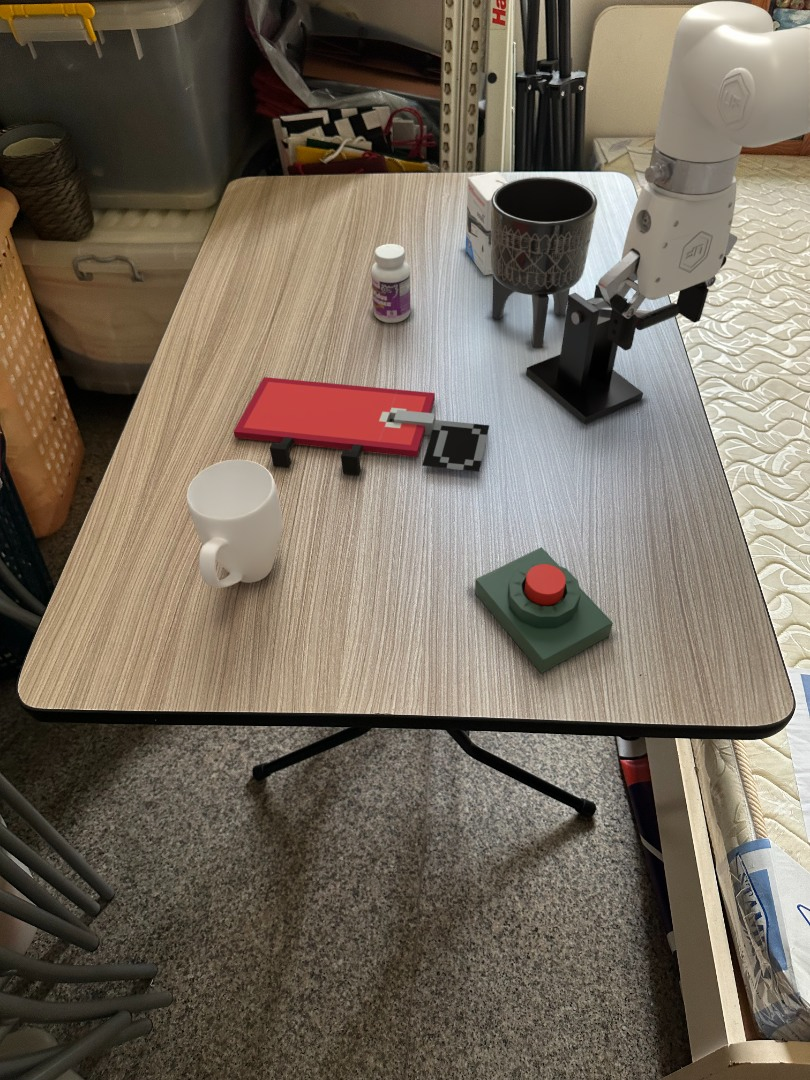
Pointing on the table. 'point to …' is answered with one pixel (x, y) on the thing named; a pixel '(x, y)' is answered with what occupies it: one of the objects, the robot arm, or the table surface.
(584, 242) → the planter
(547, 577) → the button
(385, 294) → the pill bottle
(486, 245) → the ink box
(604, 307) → the tap lever
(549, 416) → the table surface
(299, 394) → the red board with handle
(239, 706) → the table surface
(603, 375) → the bracket
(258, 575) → the mug
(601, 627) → the button box
